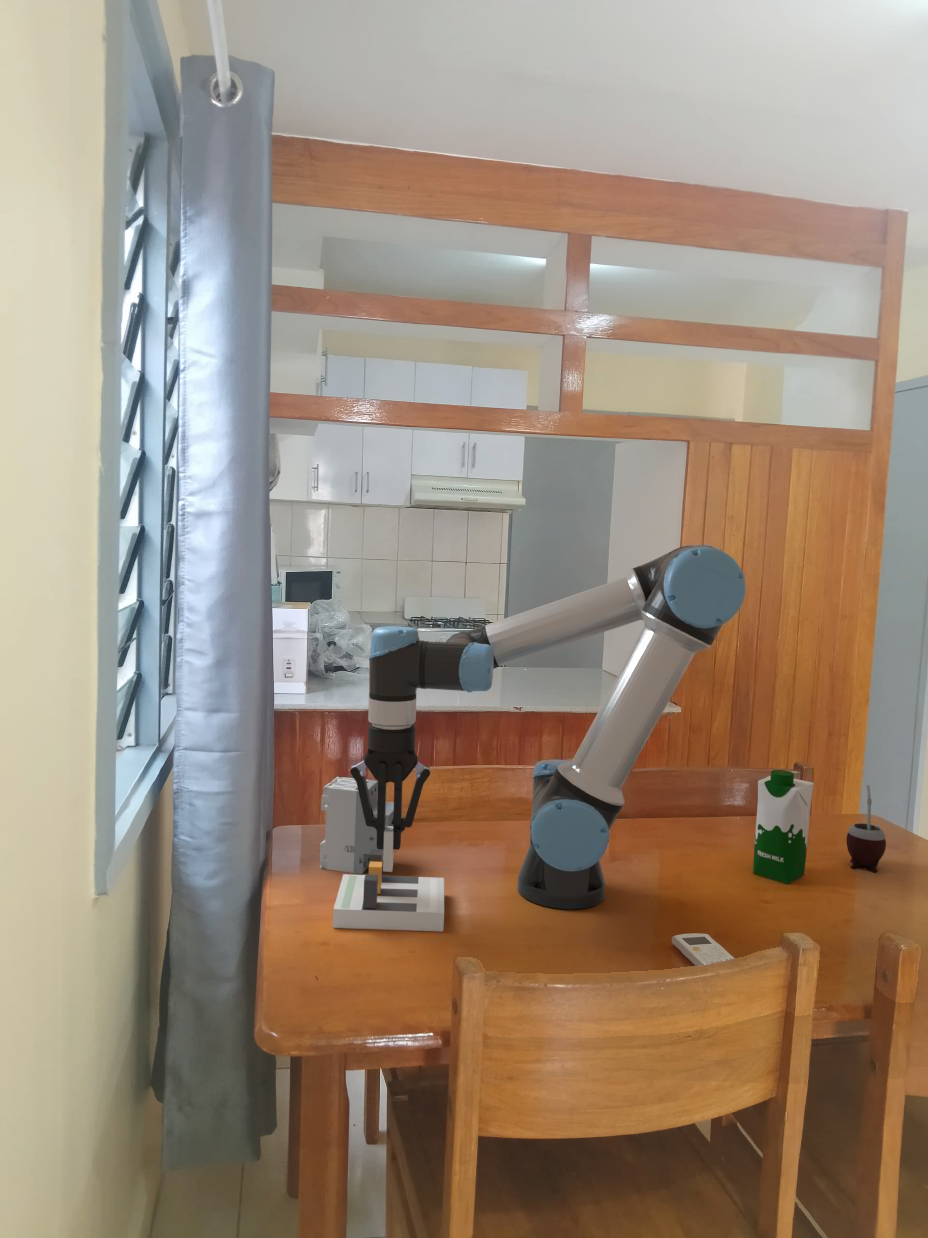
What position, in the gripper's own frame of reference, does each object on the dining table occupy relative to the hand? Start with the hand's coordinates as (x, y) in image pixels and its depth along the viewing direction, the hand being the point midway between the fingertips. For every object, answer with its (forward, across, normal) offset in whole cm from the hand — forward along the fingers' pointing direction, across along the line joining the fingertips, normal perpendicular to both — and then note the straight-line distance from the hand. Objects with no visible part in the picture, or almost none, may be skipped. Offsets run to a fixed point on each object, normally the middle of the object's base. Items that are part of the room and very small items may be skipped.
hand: (388, 868), depth 143 cm
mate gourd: (+8, -92, -28) cm, 96 cm away
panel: (+7, -1, 0) cm, 7 cm away
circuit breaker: (+7, +5, -19) cm, 21 cm away
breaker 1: (+4, +2, -6) cm, 7 cm away
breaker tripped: (+4, +2, 0) cm, 4 cm away
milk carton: (+8, -73, -22) cm, 76 cm away
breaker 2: (+4, +2, +6) cm, 7 cm away
